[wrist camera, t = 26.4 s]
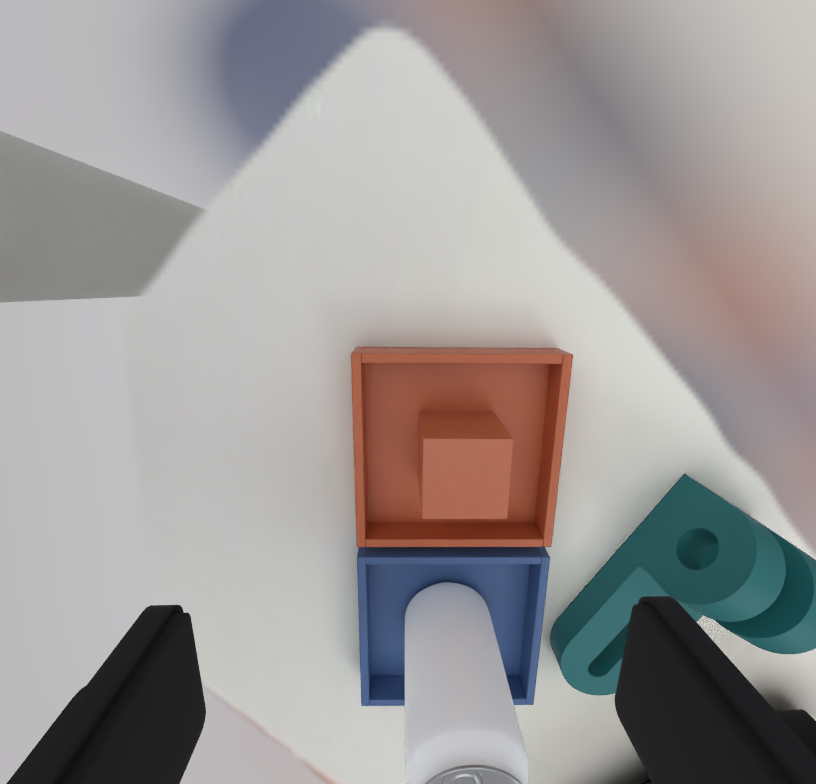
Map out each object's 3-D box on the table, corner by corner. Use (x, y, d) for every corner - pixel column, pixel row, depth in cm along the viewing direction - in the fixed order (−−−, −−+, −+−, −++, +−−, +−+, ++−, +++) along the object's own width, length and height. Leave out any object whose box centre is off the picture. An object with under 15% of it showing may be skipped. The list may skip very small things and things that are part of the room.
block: (418, 479, 28) (421, 519, 23) (419, 410, 27) (422, 438, 22) (489, 479, 28) (507, 519, 23) (494, 411, 27) (514, 438, 22)
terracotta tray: (360, 525, 30) (356, 547, 27) (355, 347, 26) (351, 353, 24) (539, 525, 30) (551, 546, 27) (557, 347, 26) (573, 354, 24)
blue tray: (364, 675, 33) (361, 706, 31) (360, 535, 30) (357, 557, 27) (524, 674, 33) (533, 705, 31) (538, 535, 30) (550, 557, 27)
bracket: (684, 473, 29) (786, 541, 21) (752, 517, 30) (873, 598, 22) (533, 646, 33) (573, 756, 25) (598, 680, 34) (655, 796, 26)
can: (474, 568, 30) (519, 746, 18) (498, 634, 32) (553, 837, 20) (392, 592, 30) (386, 781, 19) (420, 656, 32) (429, 867, 20)
